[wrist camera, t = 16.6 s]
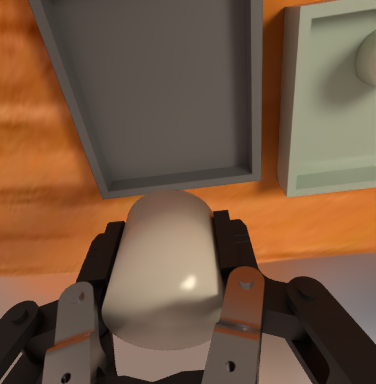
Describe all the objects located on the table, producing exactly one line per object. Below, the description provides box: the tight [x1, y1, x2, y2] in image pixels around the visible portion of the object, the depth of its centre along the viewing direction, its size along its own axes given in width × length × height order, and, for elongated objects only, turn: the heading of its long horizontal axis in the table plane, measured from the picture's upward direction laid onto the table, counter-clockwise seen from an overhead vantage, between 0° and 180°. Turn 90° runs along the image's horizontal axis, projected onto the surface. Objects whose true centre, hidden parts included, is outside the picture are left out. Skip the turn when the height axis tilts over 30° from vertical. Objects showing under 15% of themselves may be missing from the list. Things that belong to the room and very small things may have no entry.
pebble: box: [102, 189, 225, 350], centre depth 12 cm, size 4×4×5 cm
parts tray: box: [28, 0, 263, 199], centre depth 23 cm, size 18×16×3 cm
